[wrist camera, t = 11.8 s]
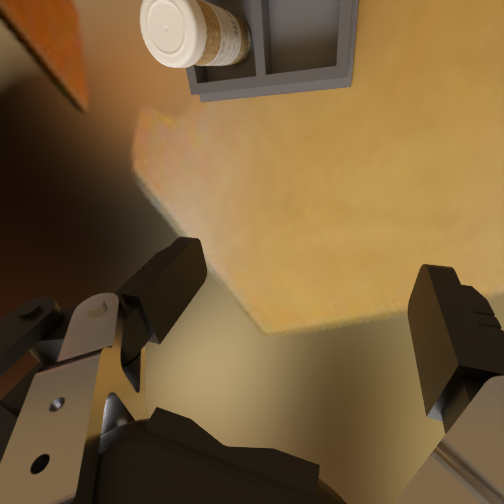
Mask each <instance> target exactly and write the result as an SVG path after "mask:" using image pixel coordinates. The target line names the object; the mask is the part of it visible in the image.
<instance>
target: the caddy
mask: <svg viewBox="0 0 504 504" xmlns="http://www.w3.org/2000/svg"><path fill="white" fill-rule="evenodd" d="M203 1H206V2H208V3H210V4H213V5H215V6H217V7H220V8H222V9H224V10H226V11H228V12H230V13H232V14H236V15H238V16H240V17H241V18H242V19H243V20H244V21H245V22H246V24H247V25H248V28H249V30H250V35H251V47H250V51H249V54H248V56H247V58H246V59H245V60H244V61H243V62H242V63H241V64H239V65H237V66H228V65H224V66H198V65H192V66H190V67H186V70H187V76H188V80H189V86H190V91H191V95H195V94H199V95H200V100H201V102H209V101H219V100H228V99H238V98H248V97H257V96H267V95H277V94H287V93H296V92H306V91H316V90H325V89H335V88H345V87H351V80H352V69H353V57H354V46H355V35H356V24H357V12H358V1H359V0H203Z"/></svg>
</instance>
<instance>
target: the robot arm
mask: <svg viewBox="0 0 504 504" xmlns="http://www.w3.org/2000/svg"><path fill="white" fill-rule="evenodd" d="M206 276H207V267H206V262H205V258H204V254H203V249H202V245H201V242H200V240H199V239H198V238H189V237H179V238H178V239H176V240H175V241H174V242H173V243H172V244H171V245H170V246H169V247H167V248H165V249H164V250H162V251H160V252H158V253H156V254H155V255H154V256H153V257H152V258H151V259H150V260H149V261H148V263H146V264H145V265H144V266H143V267H142V268H141V269H140V270H138V271H137V272H136V273H135V274H134V275H133V276H132V277H131V278H130V279H129V280H128V281H126V282H125V283H124V284H123V285H122V286H121V287H120V288H119V289H118V290H117V291H116V292H115V293H114V294H112V293H102V294H98V295H95V296H93V297H90V298H88V299H87V300H85V301H84V302H82V303H81V304H80V305H79V306H78V307H75V308H63V309H60V308H59V306H58V305H57V303H56V302H55V301H54V299H52V298H49V297H43V298H38V299H34V300H31V301H29V302H27V303H25V304H23V305H21V306H19V307H18V308H17V309H15V310H14V311H12V312H11V313H10V314H9V315H7V316H6V317H5V318H3V319H2V320H1V321H0V377H1V376H2V375H3V374H4V373H5V372H6V371H7V370H8V369H9V368H10V367H11V366H12V365H14V364H15V363H16V362H17V361H18V360H19V359H20V358H21V357H22V356H23V355H24V354H26V352H28V351H29V352H30V353H31V354H32V355H33V356H34V357H35V358H36V359H37V360H38V362H39V363H38V364H37V365H36V366H35V367H34V368H33V369H32V370H31V371H30V372H29V373H28V374H27V375H26V376H25V377H24V378H23V379H22V380H21V381H20V382H19V383H18V384H17V385H16V386H15V387H14V388H13V389H12V390H11V391H10V392H9V393H8V394H6V395H5V396H4V398H2V399H1V400H0V504H347V503H346V502H345V501H344V500H343V499H342V498H341V496H339V494H337V493H336V492H335V491H334V490H333V489H332V488H331V487H330V486H329V485H327V484H326V483H325V482H323V481H322V480H321V479H319V478H318V477H319V466H320V465H318V464H315V463H312V462H309V461H306V460H304V459H301V458H298V457H295V456H292V455H290V454H287V453H284V452H281V451H279V450H276V449H271V448H247V447H228V446H225V445H223V444H221V443H220V442H219V441H218V440H216V439H215V438H214V437H213V436H211V435H210V434H209V433H208V432H206V431H205V430H204V429H203V428H201V427H200V426H198V424H196V423H195V422H194V421H193V420H191V419H189V418H186V417H183V416H181V415H178V414H175V413H172V412H169V411H167V410H164V409H161V408H158V407H157V408H156V409H155V411H154V413H153V414H152V416H151V418H149V413H148V409H147V406H146V401H145V358H146V353H145V349H144V346H145V344H146V343H147V342H148V341H149V342H153V343H157V344H161V342H162V341H163V339H164V338H165V337H166V335H167V334H168V332H169V331H170V330H171V328H172V327H173V325H174V324H175V323H176V321H177V320H178V318H179V317H180V315H181V314H182V312H183V311H184V310H185V309H186V307H187V306H188V304H189V303H190V302H191V300H192V299H193V297H194V296H195V294H196V293H197V292H198V290H199V289H200V287H201V286H202V285H203V283H204V282H205V279H206ZM494 315H495V314H494V312H493V310H492V308H491V306H490V305H489V303H488V301H487V299H486V298H484V297H483V296H482V295H481V294H480V293H479V292H478V291H477V290H475V289H474V288H473V287H472V286H466V285H461V283H460V281H459V279H458V277H457V274H456V272H455V270H454V269H453V268H452V267H446V266H437V265H428V264H423V265H422V266H421V268H420V271H419V273H418V276H417V279H416V282H415V285H414V288H413V291H412V293H411V296H410V299H409V304H408V320H409V325H410V330H411V336H412V340H413V346H414V352H415V357H416V363H417V368H418V373H419V379H420V384H421V390H422V395H423V400H424V406H425V411H426V416H427V417H429V418H433V419H436V420H440V421H443V424H444V429H445V434H446V435H445V436H444V437H443V439H442V440H441V441H440V443H439V444H438V445H437V447H436V448H435V449H434V451H433V452H432V453H431V454H430V456H429V457H428V458H427V460H426V461H425V462H424V464H423V465H422V466H421V468H420V469H419V470H418V471H417V473H416V474H415V475H414V477H413V478H412V479H411V481H410V482H409V483H408V485H407V486H406V487H405V489H404V490H403V491H402V492H401V494H400V495H399V496H398V498H397V499H396V500H395V502H394V503H393V504H504V331H503V330H501V325H500V323H499V321H498V320H497V318H496V317H494Z"/></svg>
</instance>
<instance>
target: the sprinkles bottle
mask: <svg viewBox="0 0 504 504" xmlns="http://www.w3.org/2000/svg"><path fill="white" fill-rule="evenodd" d="M140 26H141V32H142V36H143V39H144V42H145V44H146V46H147V48H148V50H149V51H150V53H151V54H152V55H153V56H154V58H155V59H156V60H158V61H159V62H160V63H162V64H163V65H166V66H168V67H174V68H186V67H190V66H192V65H198V66H224V65H228V66H237V65H239V64H241V63H242V62H243V61H244V60H245V59H246V58H247V56H248V54H249V51H250V47H251V35H250V30H249V28H248V25H247V24H246V22H245V21H244V20H243V19H242V18H241V17H240V16H238V15H236V14H232V13H230V12H228V11H226V10H224V9H222V8H220V7H217V6H215V5H213V4H210V3H208V2H206V1H203V0H143V2H142V5H141V10H140Z"/></svg>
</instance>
